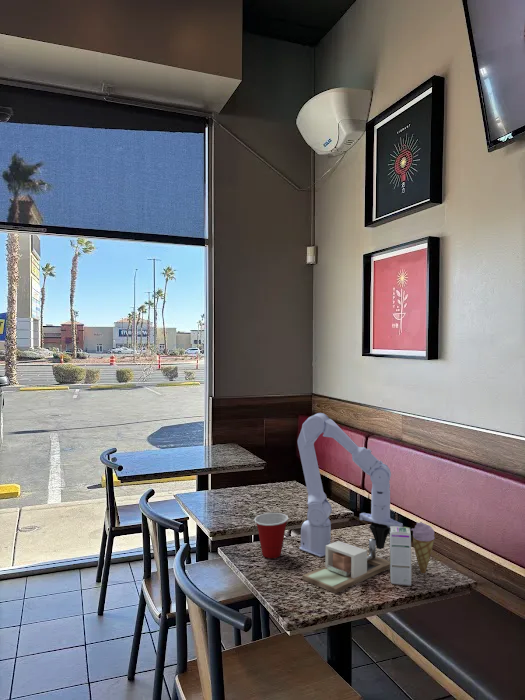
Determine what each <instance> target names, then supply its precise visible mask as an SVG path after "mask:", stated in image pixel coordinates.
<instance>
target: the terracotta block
mask: <svg viewBox="0 0 525 700" xmlns="http://www.w3.org/2000/svg"><path fill="white" fill-rule="evenodd" d="M333 567H336V568H339V569H341V570H344V571H347V570H350V569H351V557H350V556H347V555H344V554H341V553H338V552H336V553H334V554H333Z"/></svg>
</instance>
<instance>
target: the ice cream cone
mask: <svg viewBox="0 0 525 700" xmlns="http://www.w3.org/2000/svg"><path fill="white" fill-rule="evenodd" d="M411 531H412V543H413V548H414V553H415V557H416V561H417V564H418V568H419V572H420V573H421V574H425V573H426V572H427V568H428V565H429V562H430V559H431V555H432V550H433V547H434V541H435V539H436V538H435V531H434V529H433V528H432V526H431V525H428V524H427V523H424V522H422V521H421V522H416V525H414V528H413V527H412V528H410V532H411Z"/></svg>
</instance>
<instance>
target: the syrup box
mask: <svg viewBox="0 0 525 700" xmlns="http://www.w3.org/2000/svg"><path fill="white" fill-rule="evenodd" d="M410 530H411V527H408V526H404V525H403V526H390V531H389V561H390V568H389V570H390V571H389V574H390V575H389V578H390V583H391V584H393V585H400V586H412V535H411V531H410Z"/></svg>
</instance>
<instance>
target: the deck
mask: <svg viewBox="0 0 525 700" xmlns="http://www.w3.org/2000/svg"><path fill="white" fill-rule="evenodd" d="M367 556H369V553H367ZM388 569H389V570H390V560H387V559H384V558H380V557H378V556H376V558H372V559H370V560H368V561H367V573H365V574H363V575H361V576H359V577H356V578H351V574H350V575H348V576H343V575H341V574H338V573H336V572H333V571H330V570H328V569H327V568H325V565H324V566H322V567H319V568H317V569H314V570H312V571H309V572H307V573H304V574H302V578H301V579H302V580H303V581H305V582H308V583H309V584H310V583H311V585H315V586H317V587H319V588H322V589H324V590H326V591H327V592H328V591H329V592H330V593H333V594H339V593H340V592H343V591H344V590H346V588H347V589H348V587H349V588H350V586H351V587H353V586H355V585H358V584H359V583H362V582H363V581H365V580H367V579H369V578H371V577H373V576H376V575H378V574H380V573H382V572H385V571H386V570H388ZM352 585H353V586H352Z"/></svg>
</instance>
